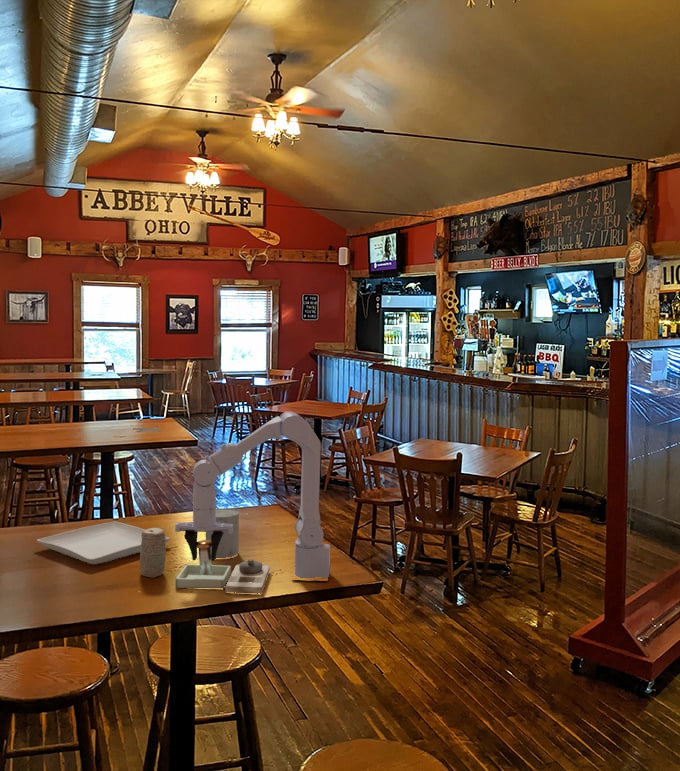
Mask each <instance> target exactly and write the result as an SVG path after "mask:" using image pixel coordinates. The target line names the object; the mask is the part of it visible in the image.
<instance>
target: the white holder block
mask: <svg viewBox="0 0 680 771" xmlns="http://www.w3.org/2000/svg"><path fill="white" fill-rule="evenodd" d="M269 571H271V565H267V564H265V565H263V563H262V562H260V561H256V560H254V559H253V558H252V559H251V558H250V559H247V560H246V561H242V562H240V563H239V564H236V565H235V566H234V569H233V570H232V571H231V576H230V578H229V580H228V582H227V584H226V586H225V588H224V590H225V591H224V592H234V593H235V592H236V593H257V594H258V593H260V594H261V593H262V591H263V592H264V590H263V588H264V589H265V587H264V585H265V582H266V579H267V577H268V578H269V576H268V574H269ZM269 575H270V574H269ZM267 580H268V579H267ZM248 582H252V583H248ZM266 583H267V582H266ZM265 586H266V585H265ZM262 594H263V593H262Z"/></svg>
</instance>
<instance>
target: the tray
mask: <svg viewBox="0 0 680 771" xmlns="http://www.w3.org/2000/svg"><path fill="white" fill-rule="evenodd" d="M230 574H232V565H224V564H223V565H222V564H221V565H218V564H217V565H215V564H212V573H211V574H208V575H201V574H200V564H189V563H188V564H187V563H186V564H185V565H184V566H183V568H182V569H181V571H180V572H179V573H178V574H177V576H176V578H175V589H176V588H192V589H191V590H194V589H193V588H224V586H225V584H226V582H227V580H228V578H229V576H230ZM224 589H225V588H224Z"/></svg>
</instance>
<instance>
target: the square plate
mask: <svg viewBox="0 0 680 771" xmlns="http://www.w3.org/2000/svg"><path fill="white" fill-rule="evenodd" d="M144 530H146V529H144V528H141V527H138V526H135V525H130V524H127V523H123V522H120V521H116V520H115V521H114V520H113V521H109V522H103V523H100V524H94V525H89V526H84V527H79V528H77V529H71V530H69V531H64V532H59V533H57V534H52V535H49V536H45V537H41V538H37V539H36V541H37V542H38V543H39V544H40V545H42V546H43V547H45V548H47V549H49V550H53V551H55V552H58V553H59V552H60V554H61V555H65V556H67V555H68V556H67V557H71V558H72V559H73V558H74V559H76V560H78V559H79V561H81V562H84V563H86V562H87V564H91V565H99V564H103V563H104V562H105V563H108V561H109V562H113V561H115V559H116V560H119V559H118V558H120V559H123V558H126V557H129V555H130V556H132V554H133V555H136V553H137V554H140V551H141V542H142V537H141V535H142V532H143V531H144ZM165 537H166V541H165V544H166V543H168V542H169V541H170V540H171V538H170V537H168V536H165ZM122 557H123V558H122ZM112 560H113V561H112Z"/></svg>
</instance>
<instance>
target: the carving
mask: <svg viewBox="0 0 680 771" xmlns="http://www.w3.org/2000/svg"><path fill="white" fill-rule="evenodd" d="M141 537H142V542H141V551H140V553H139V554H140V555H139V571H140V572H139V573H140V574H141V575H142V576H144V577H146V578H150V579H151V578H152V579H153V578H158V577H161V576H162V575H163V573H164V570H165V565H166V543H165V541H166V537H167V536H166V533H165V531H164V529H163V528H161V527H149V528H147V529H145V530H144V531H143V532H142V535H141ZM157 576H158V577H157Z"/></svg>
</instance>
